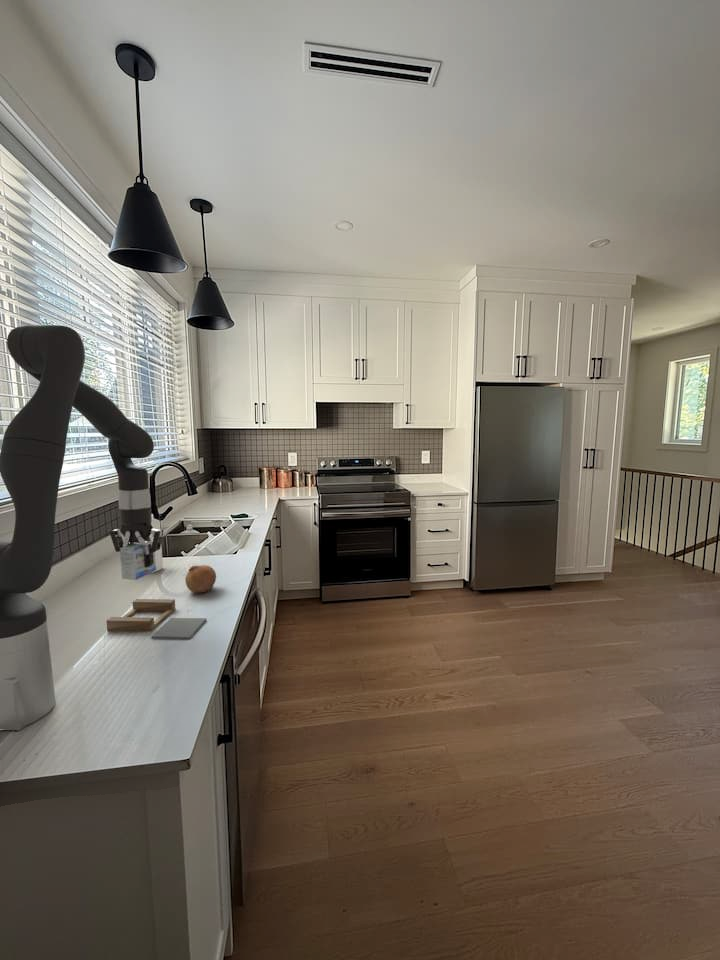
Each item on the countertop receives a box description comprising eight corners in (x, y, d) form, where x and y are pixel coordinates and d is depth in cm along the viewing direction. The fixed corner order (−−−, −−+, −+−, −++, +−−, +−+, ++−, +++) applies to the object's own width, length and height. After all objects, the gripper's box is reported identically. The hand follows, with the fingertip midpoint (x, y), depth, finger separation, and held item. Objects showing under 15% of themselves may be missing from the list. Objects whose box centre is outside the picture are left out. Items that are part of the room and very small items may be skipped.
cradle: (150, 631, 104) (149, 621, 103) (107, 631, 104) (106, 620, 104) (175, 609, 117) (174, 599, 117) (137, 608, 117) (136, 598, 117)
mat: (190, 639, 100) (189, 636, 100) (151, 638, 101) (151, 636, 100) (206, 620, 110) (206, 618, 110) (171, 619, 110) (171, 617, 110)
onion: (190, 602, 129) (173, 578, 126) (206, 584, 137) (191, 561, 134) (211, 596, 125) (194, 571, 122) (227, 578, 134) (211, 554, 131)
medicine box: (135, 580, 105) (133, 548, 104) (121, 579, 105) (119, 547, 104) (156, 570, 112) (154, 541, 111) (142, 569, 113) (141, 540, 112)
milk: (150, 567, 154) (147, 511, 151) (163, 568, 152) (159, 512, 149) (137, 572, 148) (133, 514, 145) (150, 573, 146) (147, 515, 144)
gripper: (99, 508, 103) (104, 570, 105) (153, 508, 103) (157, 571, 105) (118, 503, 111) (122, 561, 113) (168, 503, 110) (171, 562, 112)
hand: (139, 566), depth 109 cm, fingers closed on medicine box, 5 cm apart
